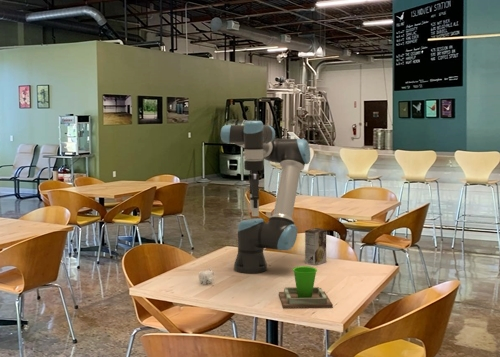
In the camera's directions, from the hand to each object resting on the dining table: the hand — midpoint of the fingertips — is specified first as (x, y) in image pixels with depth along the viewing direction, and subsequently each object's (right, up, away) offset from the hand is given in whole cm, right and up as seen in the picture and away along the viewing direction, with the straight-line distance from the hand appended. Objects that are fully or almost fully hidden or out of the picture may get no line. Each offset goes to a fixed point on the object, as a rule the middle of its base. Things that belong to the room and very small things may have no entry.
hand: (254, 213), depth 221 cm
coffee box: (+30, -27, +46) cm, 61 cm away
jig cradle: (+19, -32, -13) cm, 40 cm away
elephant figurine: (-20, -30, +10) cm, 38 cm away
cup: (+19, -31, -13) cm, 39 cm away
